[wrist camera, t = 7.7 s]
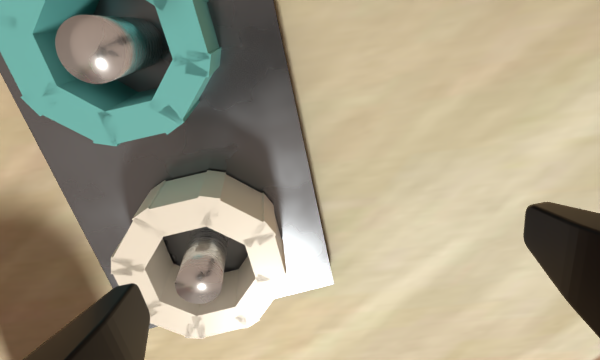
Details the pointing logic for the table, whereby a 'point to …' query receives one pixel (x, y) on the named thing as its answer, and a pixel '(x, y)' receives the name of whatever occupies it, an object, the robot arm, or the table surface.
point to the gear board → (187, 140)
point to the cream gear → (192, 215)
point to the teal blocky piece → (112, 95)
